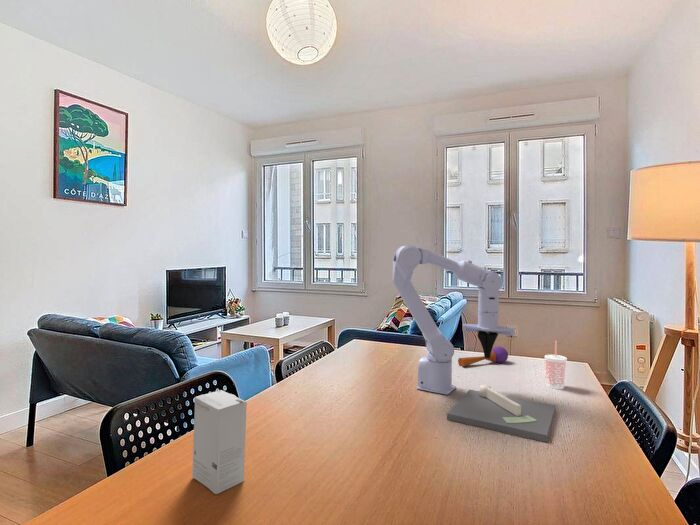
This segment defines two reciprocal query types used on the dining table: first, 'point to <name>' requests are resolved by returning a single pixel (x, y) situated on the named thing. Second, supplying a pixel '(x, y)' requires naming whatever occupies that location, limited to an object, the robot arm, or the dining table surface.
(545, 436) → the board
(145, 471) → the dining table surface
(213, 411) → the skincare box
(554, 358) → the beverage cup
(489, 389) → the cream bar
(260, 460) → the dining table surface
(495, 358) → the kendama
